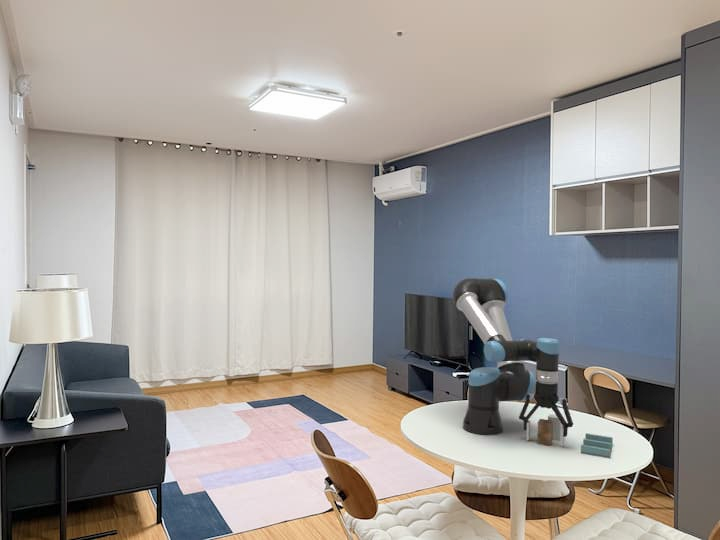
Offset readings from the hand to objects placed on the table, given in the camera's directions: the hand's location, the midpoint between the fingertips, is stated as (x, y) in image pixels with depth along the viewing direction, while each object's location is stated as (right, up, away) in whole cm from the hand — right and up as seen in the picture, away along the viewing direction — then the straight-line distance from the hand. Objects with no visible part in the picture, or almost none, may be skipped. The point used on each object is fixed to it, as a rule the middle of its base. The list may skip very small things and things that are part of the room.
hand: (544, 442), depth 197 cm
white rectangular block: (+6, 0, +7) cm, 9 cm away
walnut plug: (0, 0, 0) cm, 0 cm away
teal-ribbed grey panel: (+17, -1, -4) cm, 17 cm away
